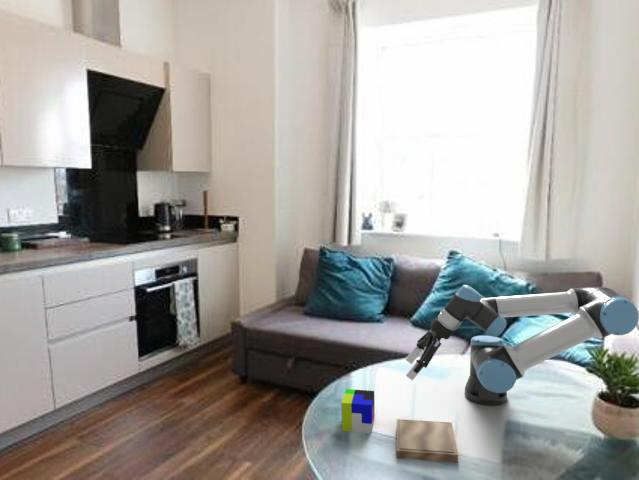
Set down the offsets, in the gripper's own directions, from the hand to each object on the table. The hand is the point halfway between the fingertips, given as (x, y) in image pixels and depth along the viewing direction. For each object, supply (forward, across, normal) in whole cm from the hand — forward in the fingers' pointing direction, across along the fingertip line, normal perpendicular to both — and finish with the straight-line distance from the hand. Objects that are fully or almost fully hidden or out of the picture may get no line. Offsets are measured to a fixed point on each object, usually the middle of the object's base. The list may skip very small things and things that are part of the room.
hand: (408, 369), depth 170 cm
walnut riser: (+10, +21, +13) cm, 26 cm away
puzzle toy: (+23, +12, -5) cm, 26 cm away
